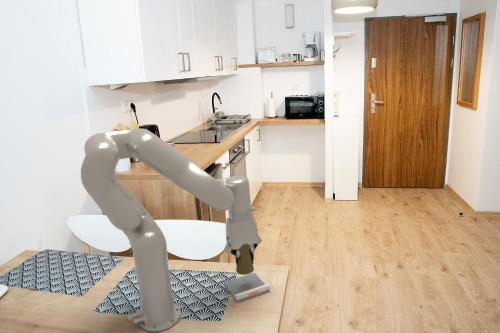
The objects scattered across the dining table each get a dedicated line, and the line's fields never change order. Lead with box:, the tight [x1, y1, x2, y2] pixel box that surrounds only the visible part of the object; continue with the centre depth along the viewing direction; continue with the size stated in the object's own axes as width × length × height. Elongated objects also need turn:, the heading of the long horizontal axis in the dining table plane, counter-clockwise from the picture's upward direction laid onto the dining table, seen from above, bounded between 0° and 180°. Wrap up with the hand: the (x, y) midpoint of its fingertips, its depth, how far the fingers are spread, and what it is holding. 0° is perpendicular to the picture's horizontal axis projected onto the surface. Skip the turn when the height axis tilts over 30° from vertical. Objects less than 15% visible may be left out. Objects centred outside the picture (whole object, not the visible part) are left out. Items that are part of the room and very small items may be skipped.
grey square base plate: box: [223, 272, 271, 304], centre depth 136 cm, size 12×12×2 cm
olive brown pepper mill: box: [235, 244, 255, 276], centre depth 132 cm, size 6×6×11 cm
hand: (245, 263), depth 133 cm, fingers closed on olive brown pepper mill, 3 cm apart
